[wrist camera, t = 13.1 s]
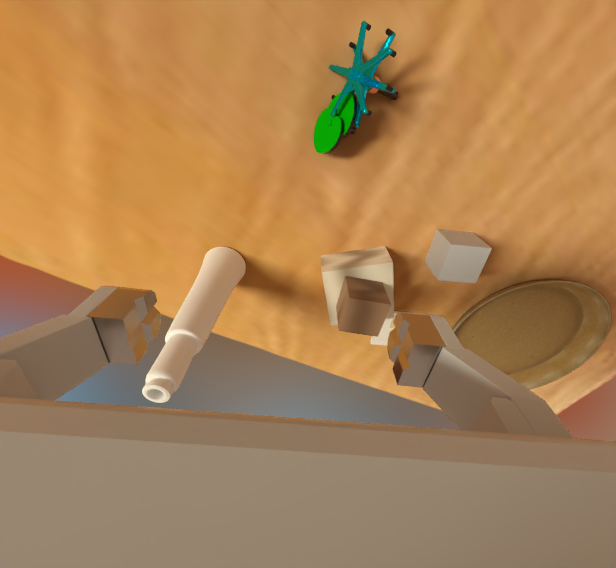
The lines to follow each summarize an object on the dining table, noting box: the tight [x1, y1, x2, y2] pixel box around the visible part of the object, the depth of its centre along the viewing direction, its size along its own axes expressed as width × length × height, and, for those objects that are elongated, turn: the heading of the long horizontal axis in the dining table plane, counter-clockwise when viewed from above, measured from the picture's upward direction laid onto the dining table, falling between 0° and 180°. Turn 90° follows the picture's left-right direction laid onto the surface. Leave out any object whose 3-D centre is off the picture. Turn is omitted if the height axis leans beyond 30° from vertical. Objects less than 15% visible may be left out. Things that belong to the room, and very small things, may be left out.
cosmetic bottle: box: [142, 247, 246, 403], centre depth 33 cm, size 6×6×22 cm
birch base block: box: [321, 246, 394, 326], centre depth 41 cm, size 9×9×5 cm
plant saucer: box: [452, 280, 612, 390], centre depth 47 cm, size 24×24×3 cm
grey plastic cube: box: [425, 229, 492, 284], centre depth 38 cm, size 5×5×5 cm
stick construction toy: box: [314, 21, 398, 154], centre depth 30 cm, size 12×7×8 cm
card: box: [370, 311, 435, 345], centre depth 48 cm, size 10×7×1 cm
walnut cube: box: [336, 276, 391, 337], centre depth 37 cm, size 5×5×5 cm
